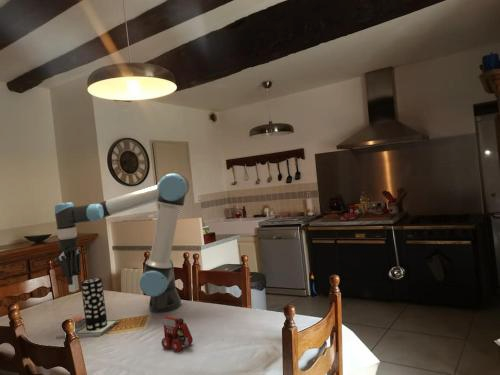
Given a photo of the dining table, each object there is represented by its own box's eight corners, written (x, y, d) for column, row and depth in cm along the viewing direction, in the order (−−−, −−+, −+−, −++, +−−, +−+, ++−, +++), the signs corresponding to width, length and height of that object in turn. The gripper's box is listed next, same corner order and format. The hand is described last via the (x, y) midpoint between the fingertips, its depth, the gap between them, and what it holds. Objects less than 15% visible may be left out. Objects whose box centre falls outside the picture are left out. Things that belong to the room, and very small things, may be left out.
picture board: (120, 321, 163) (119, 315, 163) (100, 336, 148) (100, 329, 148) (78, 323, 166) (78, 317, 166) (56, 338, 152) (55, 331, 152)
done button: (85, 320, 163) (84, 315, 163) (79, 324, 159) (78, 319, 159) (76, 321, 164) (76, 316, 164) (71, 324, 160) (70, 319, 160)
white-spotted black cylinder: (87, 332, 151) (81, 284, 151) (85, 326, 158) (80, 280, 158) (108, 326, 155) (102, 280, 155) (106, 321, 162) (100, 276, 162)
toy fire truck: (183, 354, 124) (180, 323, 124) (158, 348, 131) (155, 319, 131) (197, 345, 130) (194, 316, 130) (173, 340, 137) (169, 312, 137)
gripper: (70, 235, 169) (77, 286, 169) (48, 241, 154) (55, 296, 155) (85, 234, 167) (91, 285, 168) (64, 239, 153) (71, 295, 154)
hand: (74, 290), depth 161 cm, fingers closed
